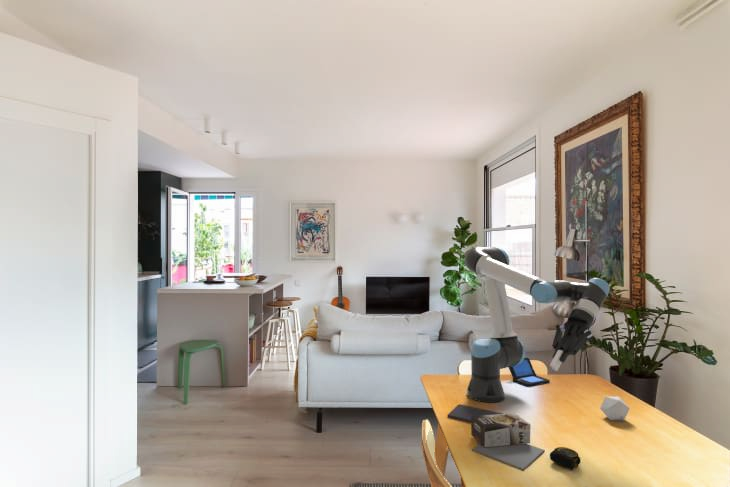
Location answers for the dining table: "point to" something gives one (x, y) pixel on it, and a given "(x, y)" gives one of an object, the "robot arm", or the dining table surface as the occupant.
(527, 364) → the handheld game console
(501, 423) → the coffee box
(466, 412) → the notebook
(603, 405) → the die
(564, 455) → the tape measure
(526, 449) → the mat
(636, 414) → the dining table surface
